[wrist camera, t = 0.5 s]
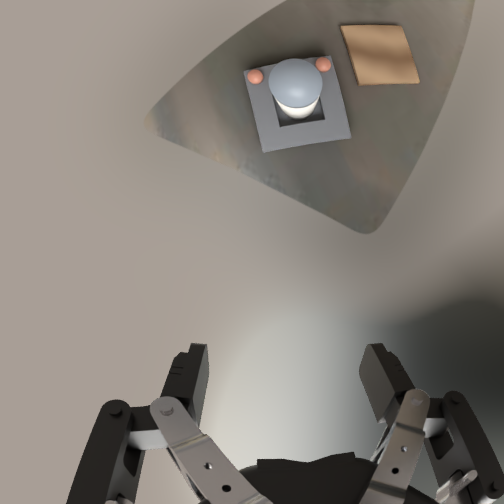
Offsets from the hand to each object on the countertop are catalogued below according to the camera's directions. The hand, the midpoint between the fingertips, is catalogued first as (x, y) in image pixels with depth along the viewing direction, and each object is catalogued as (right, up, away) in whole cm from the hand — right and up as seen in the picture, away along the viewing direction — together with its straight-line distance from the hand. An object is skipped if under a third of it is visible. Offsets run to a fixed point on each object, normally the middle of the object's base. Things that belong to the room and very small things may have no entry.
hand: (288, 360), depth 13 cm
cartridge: (+4, +24, +18) cm, 30 cm away
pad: (+15, +31, +14) cm, 38 cm away
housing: (+4, +24, +19) cm, 31 cm away
